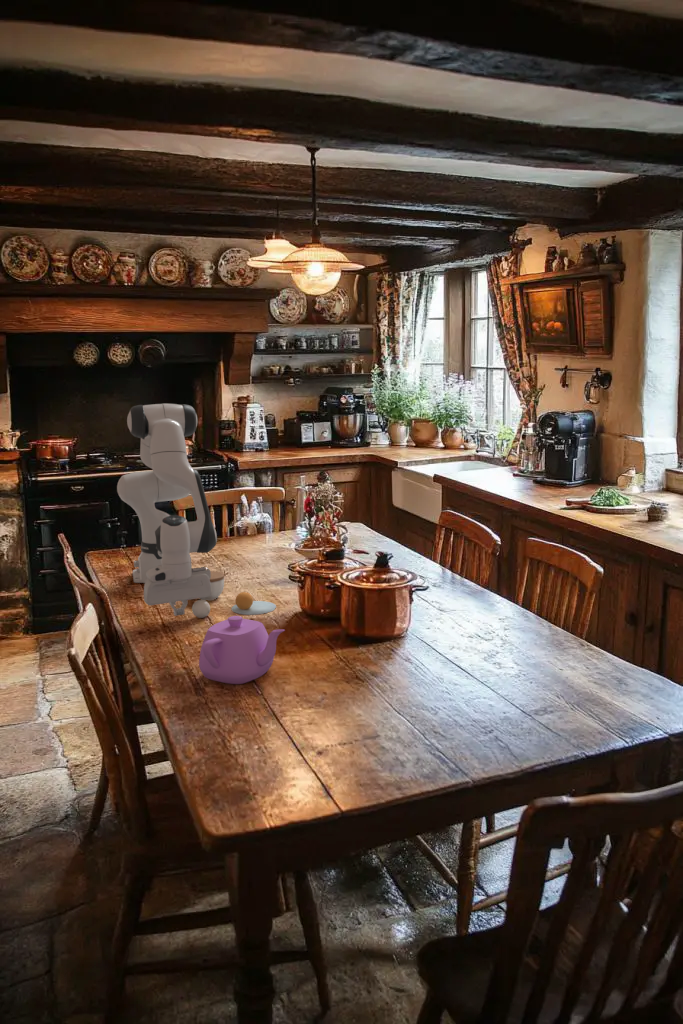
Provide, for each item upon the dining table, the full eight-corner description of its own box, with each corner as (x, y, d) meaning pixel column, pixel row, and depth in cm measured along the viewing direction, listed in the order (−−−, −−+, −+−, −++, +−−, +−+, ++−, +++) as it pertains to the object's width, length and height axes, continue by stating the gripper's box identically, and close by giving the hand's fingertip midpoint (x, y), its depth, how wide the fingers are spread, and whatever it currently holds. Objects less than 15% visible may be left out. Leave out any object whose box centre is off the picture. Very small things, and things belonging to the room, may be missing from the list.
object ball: (249, 589, 272) (248, 606, 273) (233, 590, 270) (232, 607, 270) (256, 593, 268) (255, 611, 268) (240, 594, 265) (239, 612, 266)
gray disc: (225, 605, 274) (225, 604, 274) (266, 599, 280) (266, 598, 280) (240, 617, 261) (240, 616, 261) (282, 610, 267) (282, 610, 267)
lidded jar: (208, 604, 275) (207, 576, 273) (185, 599, 282) (184, 571, 280) (232, 596, 284) (230, 569, 282) (209, 591, 290) (207, 564, 288)
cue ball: (208, 596, 264) (208, 612, 266) (191, 597, 262) (190, 613, 264) (212, 604, 259) (211, 620, 261) (193, 605, 257) (193, 621, 259)
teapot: (179, 685, 209) (176, 626, 207) (231, 658, 227) (229, 603, 224) (256, 703, 198) (253, 641, 195) (304, 673, 216) (303, 615, 213)
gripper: (207, 563, 265) (209, 606, 267) (140, 572, 256) (143, 616, 258) (213, 568, 259) (215, 612, 262) (146, 577, 250) (148, 622, 253)
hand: (179, 614), depth 260 cm, fingers closed
